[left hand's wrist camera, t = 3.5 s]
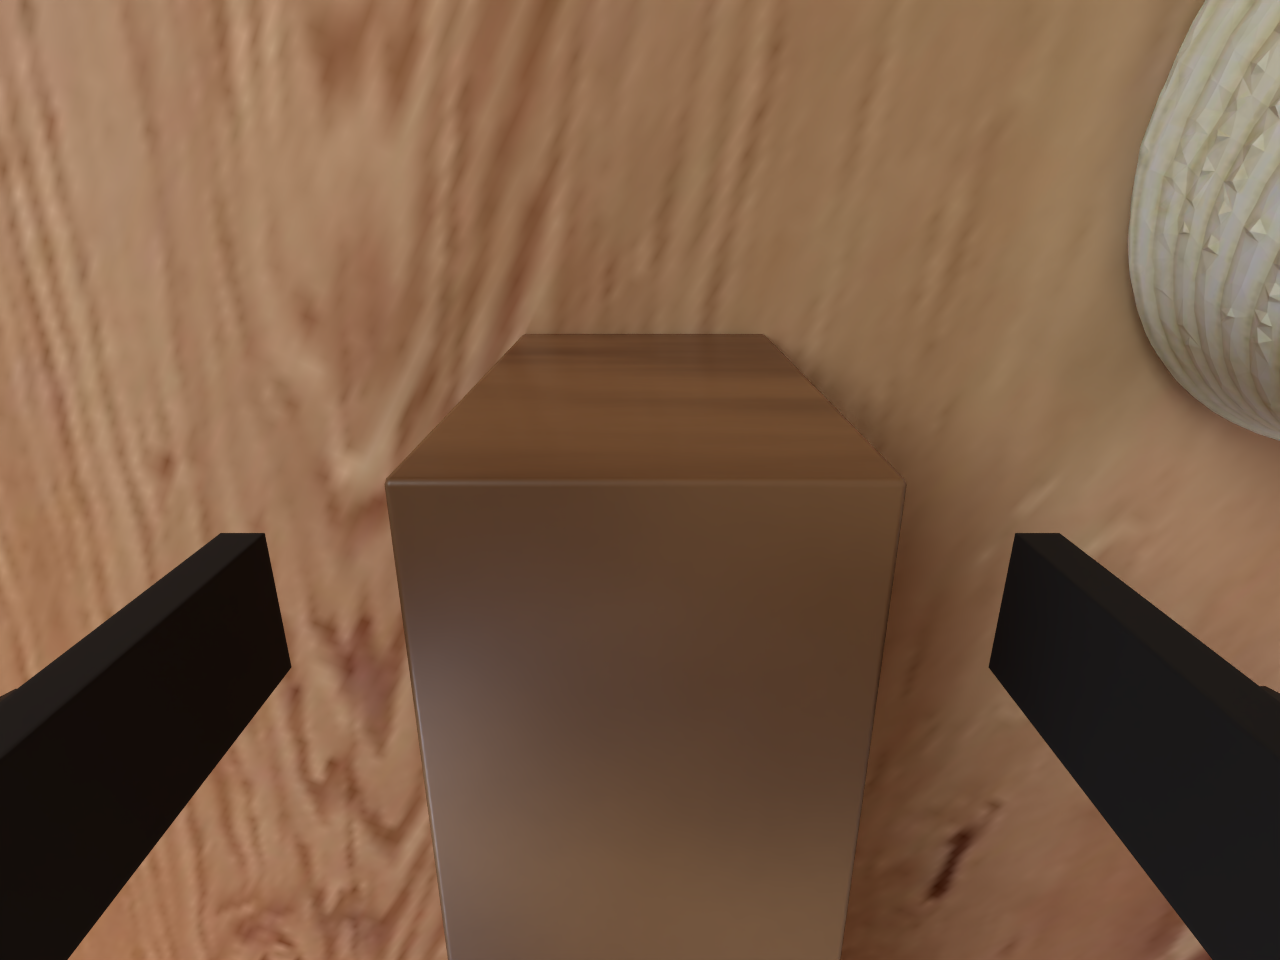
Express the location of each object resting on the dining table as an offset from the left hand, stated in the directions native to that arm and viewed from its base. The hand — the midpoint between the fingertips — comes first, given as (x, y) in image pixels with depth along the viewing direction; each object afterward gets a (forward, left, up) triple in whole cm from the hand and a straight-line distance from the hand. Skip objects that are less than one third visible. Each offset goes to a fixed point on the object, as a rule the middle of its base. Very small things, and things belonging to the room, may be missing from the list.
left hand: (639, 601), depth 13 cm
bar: (0, +9, -3) cm, 9 cm away
